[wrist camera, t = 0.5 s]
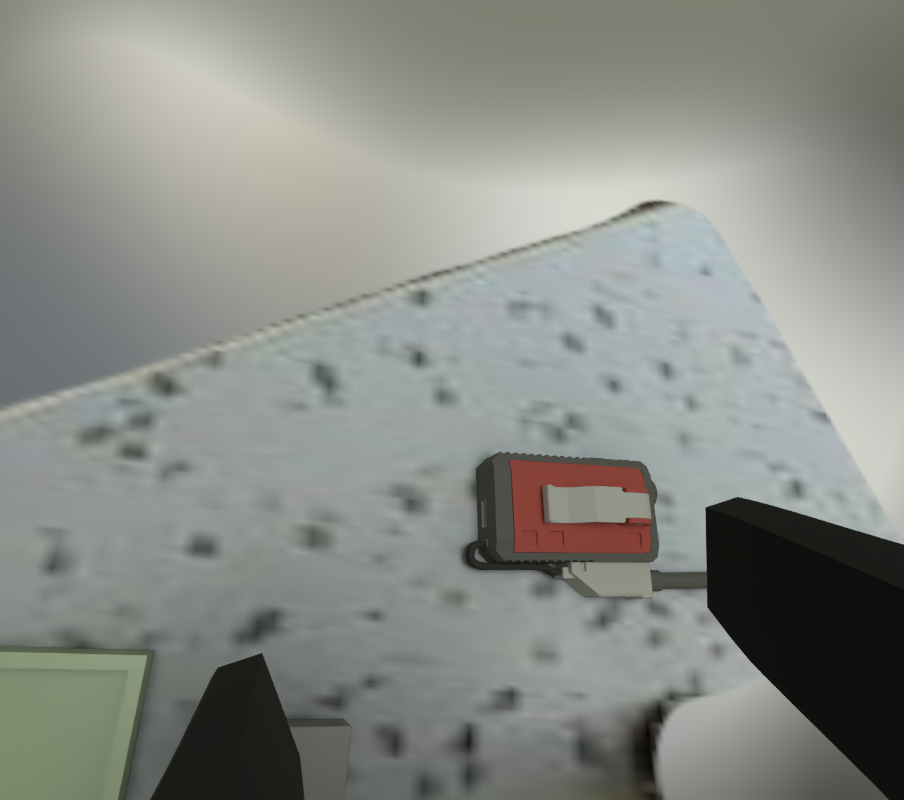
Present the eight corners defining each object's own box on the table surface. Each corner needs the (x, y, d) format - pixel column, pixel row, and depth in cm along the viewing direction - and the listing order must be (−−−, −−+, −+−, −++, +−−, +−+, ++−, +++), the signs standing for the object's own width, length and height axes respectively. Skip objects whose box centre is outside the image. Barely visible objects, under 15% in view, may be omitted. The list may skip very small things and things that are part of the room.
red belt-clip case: (459, 602, 35) (726, 596, 42) (489, 602, 31) (778, 596, 38) (456, 456, 38) (706, 472, 44) (483, 439, 34) (754, 460, 40)
